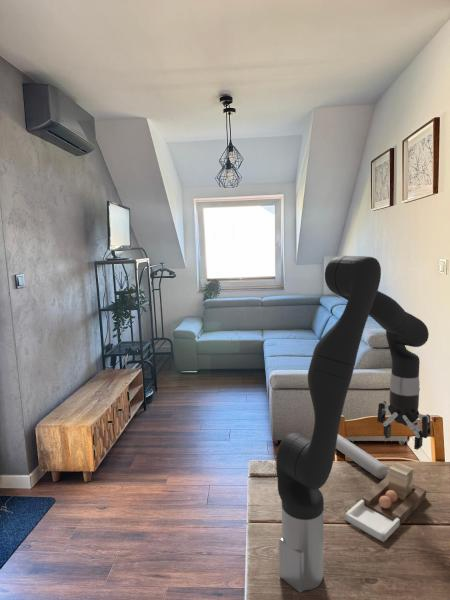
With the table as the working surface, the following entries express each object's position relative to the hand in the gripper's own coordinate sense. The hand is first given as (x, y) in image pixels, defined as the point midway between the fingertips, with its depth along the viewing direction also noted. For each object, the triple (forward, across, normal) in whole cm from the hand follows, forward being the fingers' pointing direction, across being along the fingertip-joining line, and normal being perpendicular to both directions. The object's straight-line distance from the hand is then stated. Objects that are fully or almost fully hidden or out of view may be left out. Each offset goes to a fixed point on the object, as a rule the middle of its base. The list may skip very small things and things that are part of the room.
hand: (402, 442), depth 115 cm
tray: (+17, 0, -16) cm, 23 cm away
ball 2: (+16, 0, -5) cm, 17 cm away
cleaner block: (+16, 0, 0) cm, 16 cm away
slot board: (+17, 0, -4) cm, 17 cm away
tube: (+17, -18, +7) cm, 26 cm away
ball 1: (+16, 0, -9) cm, 18 cm away
